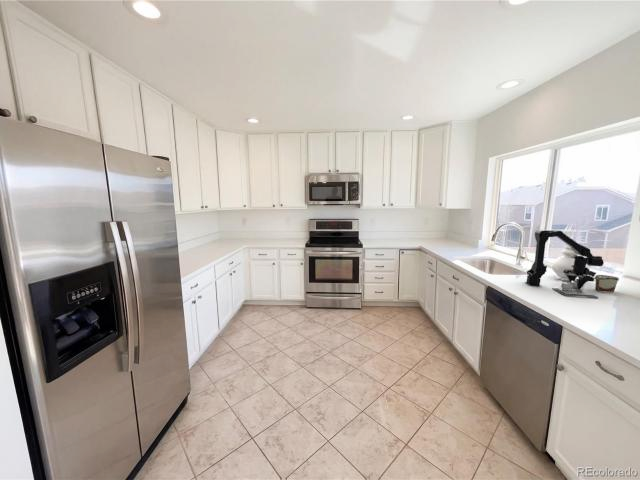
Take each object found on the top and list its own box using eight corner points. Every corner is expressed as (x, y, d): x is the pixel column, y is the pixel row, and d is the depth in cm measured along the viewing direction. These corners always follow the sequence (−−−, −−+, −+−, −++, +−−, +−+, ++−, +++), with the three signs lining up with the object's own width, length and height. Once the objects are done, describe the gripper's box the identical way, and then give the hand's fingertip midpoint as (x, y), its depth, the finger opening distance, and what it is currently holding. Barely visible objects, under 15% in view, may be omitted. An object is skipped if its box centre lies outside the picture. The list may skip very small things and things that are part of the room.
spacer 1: (564, 291, 157) (565, 284, 156) (558, 288, 162) (560, 281, 161) (573, 292, 156) (575, 284, 155) (567, 289, 161) (569, 282, 160)
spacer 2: (573, 289, 166) (575, 282, 165) (568, 286, 170) (569, 280, 170) (582, 290, 164) (584, 283, 163) (577, 287, 169) (578, 280, 168)
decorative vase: (543, 275, 195) (548, 245, 191) (564, 274, 196) (569, 244, 192) (566, 283, 178) (572, 249, 174) (589, 282, 179) (595, 249, 175)
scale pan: (565, 293, 155) (565, 292, 155) (555, 288, 164) (555, 287, 164) (594, 296, 152) (594, 294, 151) (583, 290, 160) (583, 289, 160)
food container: (606, 288, 166) (609, 274, 164) (616, 292, 160) (619, 277, 158) (586, 288, 167) (589, 274, 166) (595, 291, 161) (598, 277, 160)
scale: (564, 296, 154) (564, 294, 154) (552, 289, 166) (552, 287, 166) (598, 298, 150) (598, 297, 150) (583, 291, 161) (583, 290, 161)
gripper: (606, 269, 154) (602, 293, 156) (583, 262, 171) (580, 283, 174) (584, 268, 156) (580, 291, 159) (564, 261, 174) (561, 282, 177)
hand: (575, 286), depth 167 cm, fingers open, 6 cm apart
